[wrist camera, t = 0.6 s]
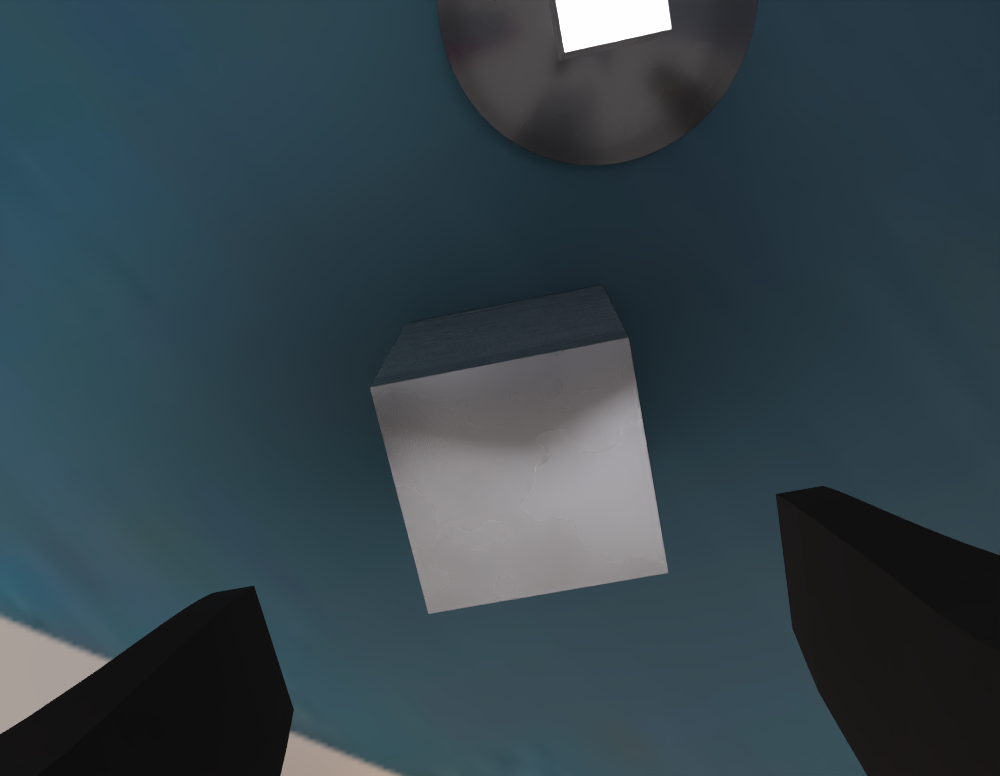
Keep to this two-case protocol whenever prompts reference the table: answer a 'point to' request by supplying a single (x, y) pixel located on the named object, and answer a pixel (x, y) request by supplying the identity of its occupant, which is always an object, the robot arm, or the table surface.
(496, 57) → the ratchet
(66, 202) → the table surface
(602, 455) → the brushed metal cube
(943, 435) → the table surface
